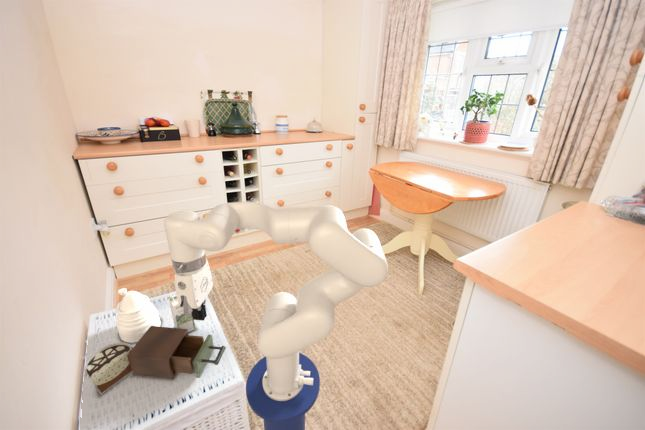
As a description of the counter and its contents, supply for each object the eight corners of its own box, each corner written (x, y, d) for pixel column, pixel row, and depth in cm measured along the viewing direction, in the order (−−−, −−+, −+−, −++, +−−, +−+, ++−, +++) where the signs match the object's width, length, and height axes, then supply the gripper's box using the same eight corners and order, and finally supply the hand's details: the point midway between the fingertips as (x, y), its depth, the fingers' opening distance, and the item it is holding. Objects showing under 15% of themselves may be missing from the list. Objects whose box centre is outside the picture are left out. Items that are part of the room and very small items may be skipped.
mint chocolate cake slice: (128, 357, 95) (120, 335, 91) (139, 366, 92) (131, 343, 88) (84, 387, 85) (74, 364, 81) (95, 399, 82) (84, 374, 78)
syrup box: (191, 320, 111) (185, 290, 105) (196, 330, 106) (190, 298, 100) (174, 327, 107) (167, 296, 101) (179, 337, 103) (172, 305, 97)
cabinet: (191, 347, 99) (187, 329, 96) (172, 379, 89) (167, 359, 85) (156, 344, 100) (150, 325, 97) (133, 375, 89) (126, 355, 86)
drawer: (229, 351, 98) (227, 336, 95) (216, 379, 88) (214, 364, 85) (181, 346, 99) (177, 331, 96) (163, 374, 89) (159, 358, 86)
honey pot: (118, 347, 98) (103, 306, 91) (121, 322, 109) (108, 283, 101) (161, 334, 104) (150, 294, 97) (160, 311, 114) (150, 273, 107)
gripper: (189, 280, 64) (200, 341, 71) (217, 246, 78) (224, 300, 85) (156, 277, 64) (171, 338, 72) (189, 244, 78) (199, 298, 86)
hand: (199, 317), depth 78 cm, fingers closed
